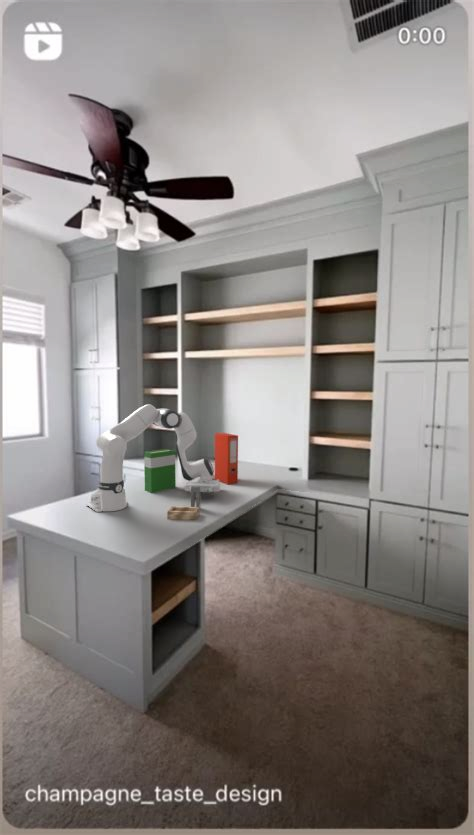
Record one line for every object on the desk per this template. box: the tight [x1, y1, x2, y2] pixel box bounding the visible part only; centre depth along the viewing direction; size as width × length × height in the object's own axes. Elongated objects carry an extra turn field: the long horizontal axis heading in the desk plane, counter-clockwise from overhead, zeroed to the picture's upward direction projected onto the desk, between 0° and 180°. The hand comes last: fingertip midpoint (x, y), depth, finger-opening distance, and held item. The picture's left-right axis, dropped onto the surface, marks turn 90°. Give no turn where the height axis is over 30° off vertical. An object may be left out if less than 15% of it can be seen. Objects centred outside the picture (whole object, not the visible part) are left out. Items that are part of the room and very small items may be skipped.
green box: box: [143, 448, 176, 494], centre depth 231 cm, size 18×7×24 cm, turn 135°
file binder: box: [214, 432, 239, 486], centre depth 250 cm, size 8×17×32 cm, turn 32°
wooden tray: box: [166, 506, 200, 520], centre depth 181 cm, size 14×8×4 cm, turn 84°
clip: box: [190, 485, 201, 510], centre depth 192 cm, size 4×4×12 cm
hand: (199, 490), depth 204 cm, fingers open, 8 cm apart
